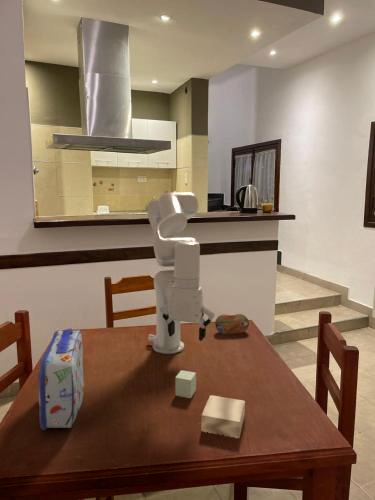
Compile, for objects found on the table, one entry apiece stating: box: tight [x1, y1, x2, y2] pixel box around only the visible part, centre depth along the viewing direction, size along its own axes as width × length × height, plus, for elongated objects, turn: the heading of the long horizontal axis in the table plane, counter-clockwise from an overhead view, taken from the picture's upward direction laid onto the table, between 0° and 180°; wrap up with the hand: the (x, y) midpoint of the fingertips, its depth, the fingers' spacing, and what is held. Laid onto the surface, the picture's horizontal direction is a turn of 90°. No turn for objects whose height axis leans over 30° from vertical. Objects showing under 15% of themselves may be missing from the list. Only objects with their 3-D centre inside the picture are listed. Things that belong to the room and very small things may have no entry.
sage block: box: [175, 369, 197, 399], centre depth 116 cm, size 5×5×6 cm
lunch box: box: [37, 328, 85, 431], centre depth 107 cm, size 28×10×22 cm, turn 12°
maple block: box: [200, 394, 246, 439], centre depth 101 cm, size 10×10×5 cm
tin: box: [214, 313, 250, 335], centre depth 166 cm, size 15×3×8 cm, turn 97°
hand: (186, 337), depth 114 cm, fingers open, 9 cm apart
